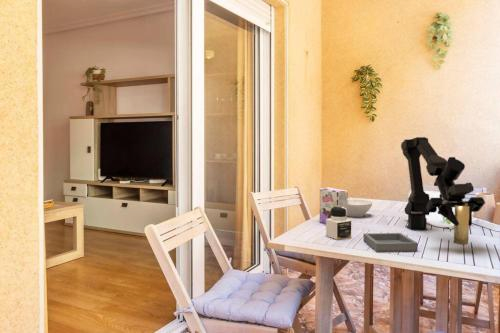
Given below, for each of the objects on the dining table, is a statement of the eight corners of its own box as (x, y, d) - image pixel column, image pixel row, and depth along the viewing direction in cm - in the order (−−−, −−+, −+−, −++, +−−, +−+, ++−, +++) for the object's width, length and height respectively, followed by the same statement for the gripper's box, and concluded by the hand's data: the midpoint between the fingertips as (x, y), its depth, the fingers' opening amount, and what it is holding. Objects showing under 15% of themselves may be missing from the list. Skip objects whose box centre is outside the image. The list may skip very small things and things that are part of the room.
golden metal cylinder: (458, 244, 132) (459, 207, 131) (451, 241, 136) (452, 204, 135) (471, 244, 132) (472, 206, 131) (463, 241, 137) (464, 204, 136)
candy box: (319, 222, 183) (319, 187, 182) (329, 221, 185) (329, 186, 184) (336, 228, 170) (337, 191, 169) (347, 227, 173) (348, 190, 171)
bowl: (376, 218, 189) (376, 204, 188) (343, 219, 189) (343, 204, 189) (367, 212, 205) (367, 199, 204) (336, 212, 205) (336, 199, 205)
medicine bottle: (337, 240, 151) (337, 209, 150) (325, 236, 157) (325, 206, 156) (351, 237, 154) (351, 207, 153) (339, 233, 160) (339, 205, 160)
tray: (376, 252, 135) (376, 243, 134) (363, 241, 149) (363, 233, 149) (417, 251, 135) (417, 243, 135) (400, 240, 149) (400, 232, 149)
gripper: (430, 175, 136) (446, 212, 126) (483, 174, 137) (502, 211, 126) (419, 193, 145) (433, 230, 135) (469, 193, 145) (486, 229, 135)
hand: (463, 225), depth 132 cm, fingers closed on golden metal cylinder, 4 cm apart
